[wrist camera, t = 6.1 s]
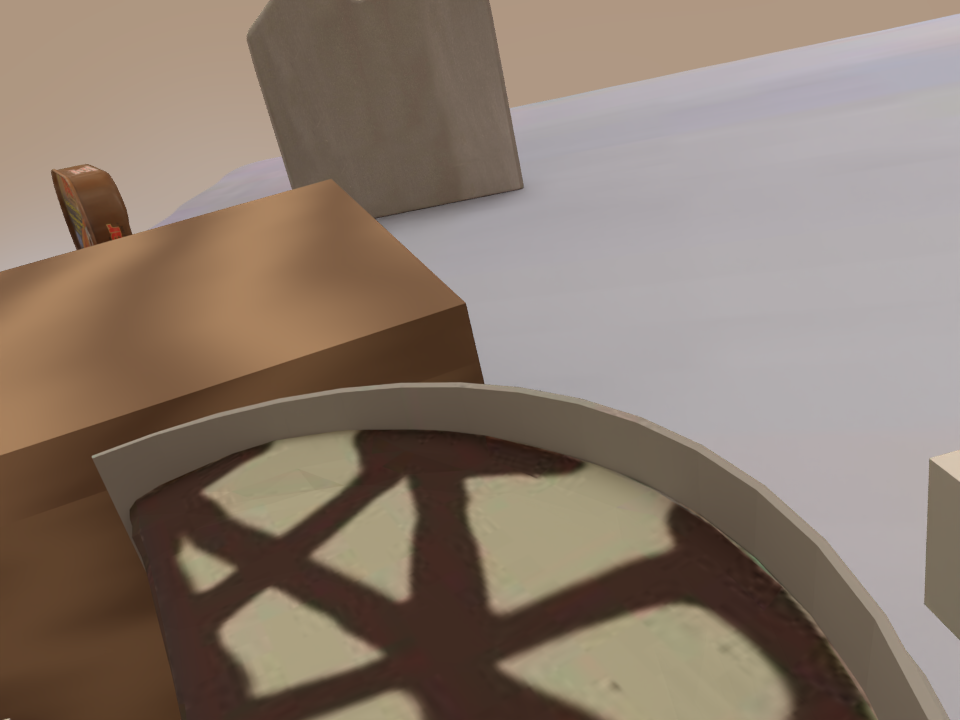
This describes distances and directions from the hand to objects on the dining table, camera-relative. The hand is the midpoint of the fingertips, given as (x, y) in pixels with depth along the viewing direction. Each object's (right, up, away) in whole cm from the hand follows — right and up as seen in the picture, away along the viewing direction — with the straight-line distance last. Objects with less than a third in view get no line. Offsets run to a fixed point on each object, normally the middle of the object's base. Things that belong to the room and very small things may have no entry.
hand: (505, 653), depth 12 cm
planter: (-5, +16, +51) cm, 54 cm away
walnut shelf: (-8, -1, +17) cm, 19 cm away
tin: (-25, +9, +45) cm, 53 cm away
